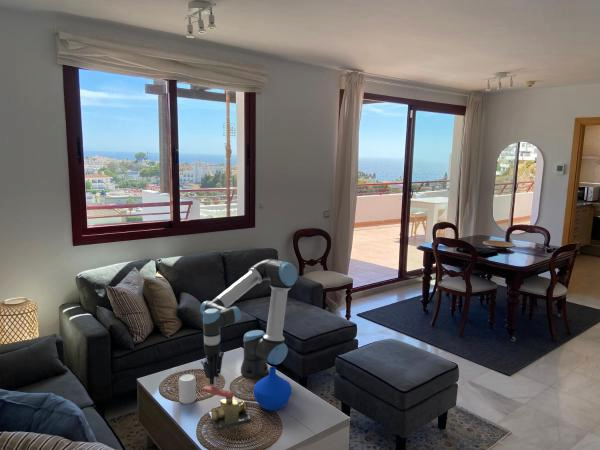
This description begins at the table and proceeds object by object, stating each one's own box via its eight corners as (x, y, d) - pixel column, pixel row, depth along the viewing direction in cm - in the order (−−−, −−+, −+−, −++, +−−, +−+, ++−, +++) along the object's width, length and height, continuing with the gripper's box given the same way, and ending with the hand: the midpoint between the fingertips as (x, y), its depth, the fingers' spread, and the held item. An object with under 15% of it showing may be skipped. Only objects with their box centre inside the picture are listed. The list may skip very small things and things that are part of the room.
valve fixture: (241, 406, 215) (241, 386, 213) (250, 420, 203) (250, 399, 202) (208, 414, 208) (208, 394, 206) (216, 429, 196) (216, 408, 195)
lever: (234, 395, 205) (234, 391, 204) (230, 399, 201) (230, 395, 201) (206, 388, 211) (206, 384, 210) (202, 391, 207) (202, 388, 207)
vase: (248, 399, 221) (248, 363, 218) (283, 391, 228) (283, 356, 225) (260, 419, 204) (260, 380, 201) (297, 410, 211) (297, 373, 208)
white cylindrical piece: (191, 405, 215) (191, 382, 213) (176, 403, 216) (175, 380, 214) (198, 396, 223) (198, 374, 221) (183, 394, 224) (183, 372, 222)
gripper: (216, 335, 213) (217, 381, 217) (196, 345, 203) (198, 393, 206) (227, 339, 209) (229, 386, 213) (208, 349, 198) (209, 398, 202)
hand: (213, 389), depth 210 cm, fingers closed
